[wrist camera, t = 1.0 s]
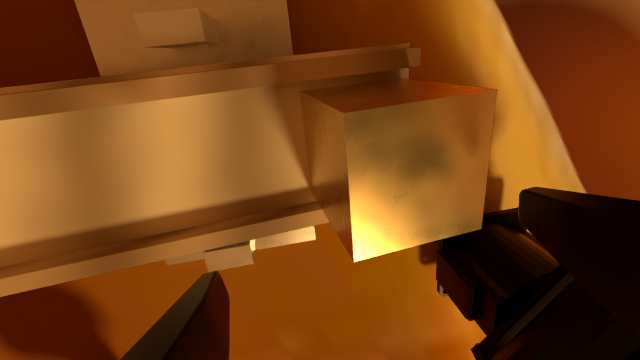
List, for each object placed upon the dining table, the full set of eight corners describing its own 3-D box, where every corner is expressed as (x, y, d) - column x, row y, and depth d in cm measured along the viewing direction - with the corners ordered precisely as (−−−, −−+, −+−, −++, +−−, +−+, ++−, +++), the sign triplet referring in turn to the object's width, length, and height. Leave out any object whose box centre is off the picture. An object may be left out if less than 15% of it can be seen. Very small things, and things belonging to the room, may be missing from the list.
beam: (398, 43, 16) (421, 42, 14) (399, 191, 19) (417, 205, 17) (-426, 135, 10) (-572, 153, 8) (-229, 326, 13) (-302, 370, 11)
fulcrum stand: (281, -28, 17) (288, -58, 12) (314, 233, 23) (326, 278, 18) (78, -12, 16) (0, -38, 11) (169, 258, 22) (144, 313, 17)
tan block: (401, 77, 15) (497, 89, 10) (401, 174, 17) (481, 228, 12) (299, 91, 14) (343, 113, 9) (311, 192, 16) (354, 261, 11)
